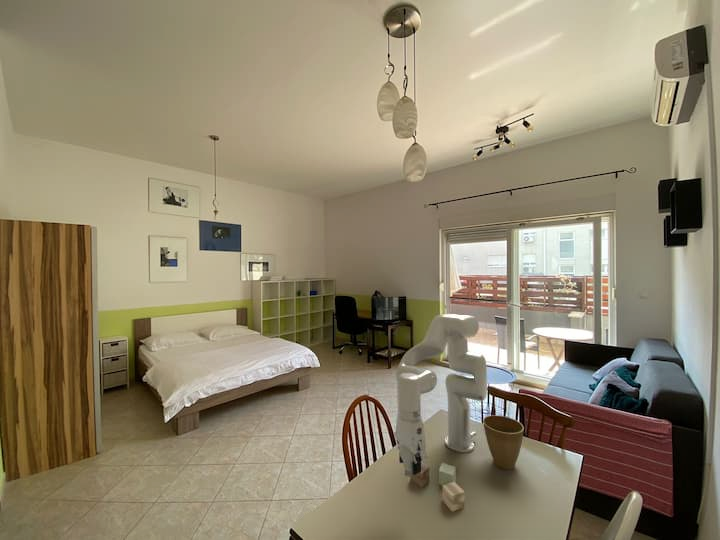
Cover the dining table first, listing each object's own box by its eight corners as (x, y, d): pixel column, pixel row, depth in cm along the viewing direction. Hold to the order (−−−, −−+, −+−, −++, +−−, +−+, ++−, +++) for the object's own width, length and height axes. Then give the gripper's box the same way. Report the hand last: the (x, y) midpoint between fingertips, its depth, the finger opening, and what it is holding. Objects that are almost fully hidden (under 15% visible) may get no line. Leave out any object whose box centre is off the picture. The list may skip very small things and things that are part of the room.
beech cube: (454, 496, 99) (454, 481, 99) (464, 507, 95) (464, 491, 95) (442, 500, 98) (442, 485, 98) (452, 511, 93) (451, 495, 93)
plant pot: (514, 453, 124) (513, 415, 124) (531, 477, 109) (530, 434, 109) (478, 451, 125) (478, 413, 125) (490, 474, 110) (490, 432, 111)
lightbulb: (405, 466, 99) (405, 435, 99) (421, 474, 95) (421, 442, 95) (395, 476, 94) (396, 444, 94) (412, 486, 91) (412, 451, 90)
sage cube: (442, 476, 109) (442, 462, 110) (455, 480, 107) (455, 467, 107) (438, 484, 105) (438, 470, 105) (453, 489, 103) (452, 475, 103)
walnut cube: (417, 474, 111) (417, 460, 111) (429, 480, 107) (429, 466, 107) (410, 480, 107) (410, 467, 107) (422, 487, 104) (421, 473, 104)
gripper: (436, 420, 89) (437, 478, 89) (401, 399, 104) (402, 449, 104) (418, 427, 86) (419, 488, 86) (384, 405, 100) (385, 456, 100)
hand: (410, 466), depth 95 cm, fingers closed on lightbulb, 5 cm apart
